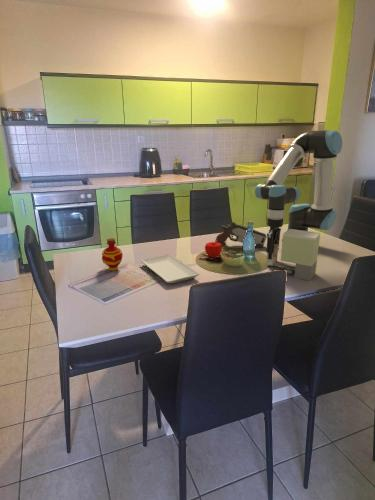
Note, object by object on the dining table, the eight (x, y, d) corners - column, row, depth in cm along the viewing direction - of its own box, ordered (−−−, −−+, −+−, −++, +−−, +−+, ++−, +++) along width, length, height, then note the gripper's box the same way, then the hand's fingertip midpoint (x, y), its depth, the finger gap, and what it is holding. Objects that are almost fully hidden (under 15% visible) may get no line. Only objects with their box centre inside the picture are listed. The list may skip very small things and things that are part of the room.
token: (285, 270, 167) (286, 265, 166) (297, 272, 164) (297, 268, 163) (282, 274, 162) (282, 269, 161) (293, 276, 159) (294, 271, 158)
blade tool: (269, 262, 174) (270, 243, 171) (298, 267, 166) (300, 248, 163) (266, 264, 171) (267, 245, 168) (296, 270, 163) (298, 250, 160)
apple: (202, 258, 182) (202, 244, 180) (208, 253, 190) (208, 240, 187) (218, 260, 179) (219, 246, 176) (223, 255, 187) (224, 241, 184)
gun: (258, 258, 201) (267, 234, 195) (214, 243, 203) (222, 219, 198) (258, 255, 205) (267, 232, 200) (215, 240, 208) (223, 217, 202)
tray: (166, 288, 148) (166, 281, 146) (140, 265, 174) (139, 259, 173) (200, 280, 155) (200, 273, 154) (170, 259, 181) (169, 253, 180)
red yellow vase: (127, 266, 172) (125, 237, 167) (117, 273, 163) (114, 243, 158) (109, 263, 175) (107, 235, 170) (98, 271, 166) (95, 241, 161)
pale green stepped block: (284, 267, 169) (288, 228, 163) (315, 273, 162) (320, 233, 155) (277, 274, 161) (281, 233, 155) (309, 280, 154) (315, 238, 147)
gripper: (273, 213, 173) (270, 257, 180) (261, 220, 159) (258, 267, 166) (288, 215, 169) (284, 259, 176) (277, 222, 155) (273, 270, 163)
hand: (271, 263), depth 171 cm, fingers closed on blade tool, 4 cm apart
